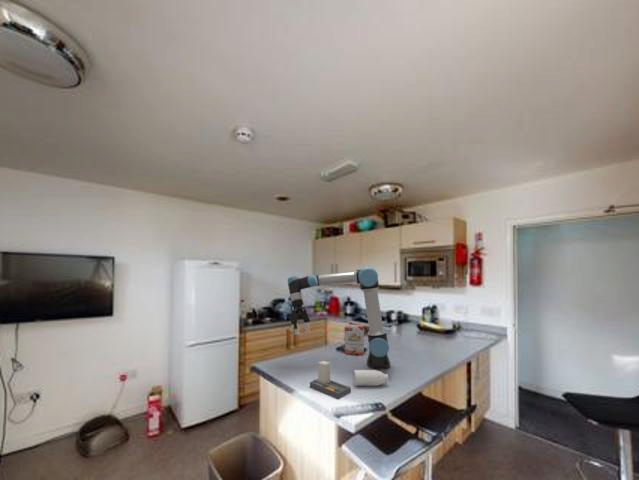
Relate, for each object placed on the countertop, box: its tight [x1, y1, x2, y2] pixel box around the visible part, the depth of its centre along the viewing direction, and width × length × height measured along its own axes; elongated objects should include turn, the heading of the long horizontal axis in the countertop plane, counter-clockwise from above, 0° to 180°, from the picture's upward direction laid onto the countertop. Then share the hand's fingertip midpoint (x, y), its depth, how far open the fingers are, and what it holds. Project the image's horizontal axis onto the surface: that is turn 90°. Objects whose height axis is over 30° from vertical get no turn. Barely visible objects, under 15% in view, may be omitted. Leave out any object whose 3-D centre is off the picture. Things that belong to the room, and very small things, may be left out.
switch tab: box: [317, 360, 331, 384], centre depth 148 cm, size 5×4×10 cm
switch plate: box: [309, 378, 352, 400], centre depth 145 cm, size 20×10×4 cm, turn 46°
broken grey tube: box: [352, 369, 390, 387], centre depth 150 cm, size 8×19×8 cm, turn 89°
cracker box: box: [344, 323, 365, 356], centre depth 207 cm, size 14×6×21 cm, turn 81°
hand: (303, 333), depth 172 cm, fingers open, 13 cm apart
